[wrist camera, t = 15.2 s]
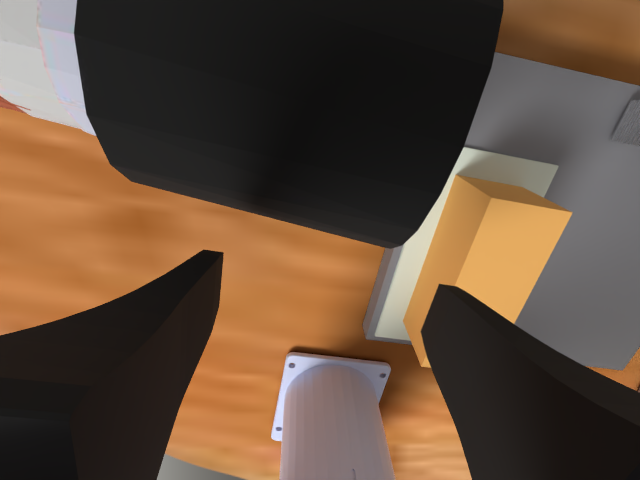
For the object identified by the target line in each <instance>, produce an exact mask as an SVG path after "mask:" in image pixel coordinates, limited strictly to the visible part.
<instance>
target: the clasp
mask: <svg viewBox="0 0 640 480" xmlns="http://www.w3.org/2000/svg"><path fill="white" fill-rule="evenodd" d="M610 140H613V141H617V142H622V143H627V144H632V145H636V146H640V101H639V100H631V101H630V103H629V105H628V107H627V109H626V111H625V113H624V115H623V117H622V118H621V120H620V122H619V124H618V126H617V128H616V130H615V132H614V134H613V136H612V137H611V139H610Z"/></svg>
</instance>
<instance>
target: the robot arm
mask: <svg viewBox="0 0 640 480" xmlns="http://www.w3.org/2000/svg"><path fill="white" fill-rule="evenodd" d="M222 265H223V252H217V251H210V250H202V251H201V252H199V253H198V254H196V255H194V256H193V257H191V258H190V259H188V260H187V261H185V262H184V263H182V264H181V265H179V266H177V267H176V268H174V269H173V270H171V271H169V272H168V273H166V274H164V275H163V276H161V277H159V278H157V279H155V280H153V281H152V282H150V283H148V284H146V285H144V286H142V287H140V288H139V289H137V290H135V291H133V292H130V293H128V294H126V295H124V296H122V297H119V298H117V299H115V300H112V301H110V302H108V303H105V304H103V305H100V306H98V307H95V308H92V309H89V310H86V311H83V312H80V313H77V314H75V315H72V316H69V317H66V318H63V319H60V320H57V321H53V322H50V323H46V324H43V325H39V326H36V327H32V328H28V329H24V330H21V331H17V332H13V333H9V334H5V335H0V480H156V479H157V476H158V473H159V470H160V466H161V463H162V460H163V457H164V454H165V450H166V447H167V444H168V441H169V438H170V435H171V432H172V429H173V425H174V422H175V419H176V416H177V413H178V410H179V407H180V405H181V402H182V399H183V397H184V394H185V392H186V390H187V387H188V385H189V383H190V381H191V378H192V376H193V374H194V371H195V369H196V367H197V365H198V362H199V360H200V358H201V355H202V353H203V351H204V349H205V346H206V344H207V342H208V339H209V337H210V335H211V332H212V329H213V325H214V322H215V319H216V315H217V311H218V308H219V301H220V289H221V277H222ZM421 335H422V340H423V344H424V348H425V352H426V355H427V358H428V361H429V364H430V366H431V369H432V371H433V373H434V376H435V378H436V381H437V383H438V385H439V388H440V390H441V392H442V395H443V397H444V399H445V402H446V404H447V407H448V409H449V411H450V414H451V416H452V418H453V421H454V423H455V426H456V429H457V431H458V434H459V437H460V441H461V444H462V447H463V450H464V454H465V457H466V460H467V463H468V467H469V470H470V474H471V477H472V480H640V392H638V391H635V390H633V389H631V388H629V387H626V386H624V385H622V384H620V383H618V382H616V381H614V380H612V379H610V378H608V377H605V376H603V375H601V374H599V373H597V372H595V371H593V370H591V369H589V368H587V367H585V366H583V365H581V364H580V363H578V362H576V361H574V360H572V359H571V358H569V357H567V356H565V355H563V354H562V353H560V352H558V351H556V350H554V349H553V348H551V347H549V346H548V345H546V344H544V343H543V342H541V341H540V340H538V339H536V338H535V337H533V336H532V335H530V334H528V333H527V332H525V331H524V330H522V329H521V328H519V327H518V326H516V325H515V324H513V323H512V322H510V321H509V320H507V319H506V318H504V317H503V316H501V315H500V314H499V313H497V312H496V311H494V310H493V309H491V308H490V307H488V306H487V305H486V304H484V303H483V302H481V301H480V300H478V299H477V298H475V297H474V296H472V295H471V294H469V293H467V292H466V291H464V290H462V289H461V288H459V287H457V286H451V285H444V284H439V285H438V288H437V290H436V293H435V296H434V298H433V301H432V303H431V306H430V308H429V311H428V314H427V316H426V319H425V321H424V324H423V326H422V329H421ZM290 363H294V364H290ZM390 371H391V368H390V365H389V364H388V363H386V362H377V361H369V360H360V359H351V358H342V357H333V356H325V355H316V354H307V353H298V352H290V353H288V354H287V356H286V361H285V366H284V371H283V376H282V381H281V386H280V392H279V397H278V402H277V407H276V412H275V417H274V422H273V427H272V432H271V438H272V439H273V440H276V441H282V445H281V463H280V480H396V479H395V475H394V470H393V466H392V462H391V457H390V453H389V448H388V444H387V440H386V435H385V431H384V427H383V422H382V418H381V414H380V409H379V405H378V404H379V401H380V399H381V396H382V393H383V391H384V388H385V385H386V382H387V380H388V377H389V374H390ZM381 373H384V374H381Z"/></svg>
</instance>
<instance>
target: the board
mask: <svg viewBox="0 0 640 480" xmlns="http://www.w3.org/2000/svg"><path fill="white" fill-rule="evenodd" d="M631 100H639V101H640V86H638V85H634V84H630V83H626V82H621V81H617V80H613V79H608V78H604V77H600V76H596V75H591V74H587V73H583V72H578V71H574V70H570V69H566V68H561V67H557V66H553V65H548V64H544V63H540V62H536V61H531V60H527V59H523V58H518V57H514V56H510V55H506V54H501V53H497V52H495V53H494V58H493V63H492V68H491V71H490V73H489V76H488V79H487V82H486V85H485V88H484V91H483V93H482V96H481V99H480V102H479V105H478V108H477V110H476V113H475V116H474V119H473V122H472V125H471V128H470V130H469V133H468V136H467V139H466V142H465V145H464V148H463V150H462V152H461V154H460V156H459V158H458V160H457V162H456V164H455V166H454V168H453V170H452V172H451V174H450V176H449V178H448V180H447V183H446V185H445V187H444V189H443V191H442V193H441V195H440V196H439V198H438V200H437V201H436V203H435V204H434V206H433V207H432V209H431V211H430V212H429V214H428V215H427V217H426V219H425V220H424V222H423V223H422V225H421V226H420V228H419V230H418V231H417V232H416V233H415V234H414V235H413V236H412V237H411V238H410V239H409V240H408V241H406V242H405V243H404V244H403V245H402V246H399V247H395V248H392V249H389V248H385V251H384V254H383V258H382V261H381V264H380V268H379V271H378V274H377V278H376V281H375V284H374V288H373V291H372V294H371V298H370V301H369V304H368V308H367V311H366V314H365V318H364V321H363V324H362V326H363V330H364V334H365V338H366V339H368V340H376V341H384V342H393V343H401V344H409V345H412V342H411V340H410V338H409V335H408V333H407V330H406V328H405V325H404V323H403V319H404V316H405V313H406V311H407V308H408V305H409V302H410V300H411V297H412V294H413V291H414V288H415V286H416V283H417V280H418V277H419V275H420V272H421V269H422V266H423V263H424V261H425V258H426V255H427V252H428V250H429V247H430V244H431V241H432V238H433V236H434V233H435V230H436V227H437V225H438V222H439V219H440V216H441V213H442V211H443V208H444V205H445V202H446V200H447V197H448V194H449V191H450V189H451V186H452V183H453V180H454V177H455V175H461V176H466V177H471V178H477V179H482V180H487V181H493V182H498V183H503V184H509V185H514V186H519V187H523V188H525V189H527V190H529V191H531V192H533V193H535V194H537V195H539V196H541V197H543V198H545V199H547V200H549V201H551V202H553V203H555V204H557V205H559V206H561V207H563V208H565V209H567V210H569V211H571V212H573V213H572V215H571V217H570V219H569V221H568V223H567V225H566V227H565V228H564V230H563V232H562V234H561V236H560V238H559V240H558V242H557V244H556V245H555V247H554V249H553V251H552V253H551V255H550V257H549V259H548V261H547V263H546V264H545V266H544V268H543V270H542V272H541V274H540V276H539V278H538V280H537V281H536V283H535V285H534V287H533V289H532V291H531V293H530V295H529V297H528V299H527V300H526V302H525V304H524V306H523V308H522V310H521V312H520V314H519V316H518V317H517V319H516V321H515V323H514V324H515V325H516V326H518V327H519V328H521V329H522V330H524V331H525V332H527V333H528V334H530V335H532V336H533V337H535V338H536V339H538V340H540V341H541V342H543V343H544V344H546V345H548V346H549V347H551V348H553V349H554V350H556V351H558V352H560V353H562V354H563V355H565V356H567V357H569V358H571V359H572V360H574V361H576V362H578V363H580V364H581V365H583V366H590V367H598V368H607V369H615V370H623V369H624V368H625V366H626V365H627V364H628V362H629V361H630V360H631V358H632V357H633V356H634V354H635V353H636V351H637V350H638V349H639V347H640V146H636V145H632V144H627V143H622V142H617V141H613V140H610V139H611V137H612V136H613V134H614V132H615V130H616V128H617V126H618V124H619V122H620V120H621V118H622V117H623V115H624V113H625V111H626V109H627V107H628V105H629V103H630V101H631Z"/></svg>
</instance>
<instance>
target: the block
mask: <svg viewBox="0 0 640 480" xmlns="http://www.w3.org/2000/svg"><path fill="white" fill-rule="evenodd" d="M572 213H573V212H571V211H569V210H567V209H565V208H563V207H561V206H559V205H557V204H555V203H553V202H551V201H549V200H547V199H545V198H543V197H541V196H539V195H537V194H535V193H533V192H531V191H529V190H527V189H525V188H523V187H519V186H514V185H509V184H503V183H498V182H493V181H487V180H482V179H477V178H471V177H466V176H461V175H455V177H454V180H453V183H452V186H451V189H450V191H449V194H448V197H447V200H446V202H445V205H444V208H443V211H442V213H441V216H440V219H439V222H438V225H437V227H436V230H435V233H434V236H433V238H432V241H431V244H430V247H429V250H428V252H427V255H426V258H425V261H424V263H423V266H422V269H421V272H420V275H419V277H418V280H417V283H416V286H415V288H414V291H413V294H412V297H411V300H410V302H409V305H408V308H407V311H406V313H405V316H404V319H403V323H404V325H405V328H406V330H407V333H408V335H409V338H410V340H411V342H412V345H413V347H414V350H415V352H416V355H417V357H418V360H419V362H420V365H421V367H429V368H431V366H430V364H429V361H428V358H427V355H426V352H425V348H424V344H423V340H422V335H421V329H422V326H423V324H424V321H425V319H426V316H427V314H428V311H429V308H430V306H431V303H432V301H433V298H434V296H435V293H436V290H437V288H438V285H439V284H444V285H451V286H457V287H459V288H461V289H462V290H464V291H466V292H467V293H469V294H471V295H472V296H474V297H475V298H477V299H478V300H480V301H481V302H483V303H484V304H486V305H487V306H488V307H490V308H491V309H493V310H494V311H496V312H497V313H499V314H500V315H501V316H503V317H504V318H506V319H507V320H509V321H510V322H512V323H513V324H514V323H515V321H516V319H517V317H518V316H519V314H520V312H521V310H522V308H523V306H524V304H525V302H526V300H527V299H528V297H529V295H530V293H531V291H532V289H533V287H534V285H535V283H536V281H537V280H538V278H539V276H540V274H541V272H542V270H543V268H544V266H545V264H546V263H547V261H548V259H549V257H550V255H551V253H552V251H553V249H554V247H555V245H556V244H557V242H558V240H559V238H560V236H561V234H562V232H563V230H564V228H565V227H566V225H567V223H568V221H569V219H570V217H571V215H572Z"/></svg>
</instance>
